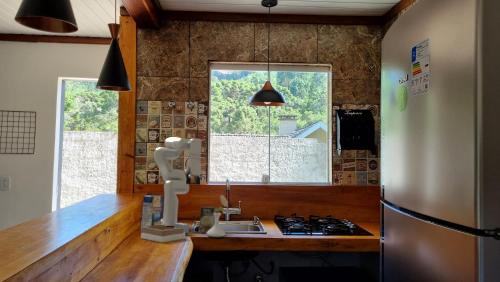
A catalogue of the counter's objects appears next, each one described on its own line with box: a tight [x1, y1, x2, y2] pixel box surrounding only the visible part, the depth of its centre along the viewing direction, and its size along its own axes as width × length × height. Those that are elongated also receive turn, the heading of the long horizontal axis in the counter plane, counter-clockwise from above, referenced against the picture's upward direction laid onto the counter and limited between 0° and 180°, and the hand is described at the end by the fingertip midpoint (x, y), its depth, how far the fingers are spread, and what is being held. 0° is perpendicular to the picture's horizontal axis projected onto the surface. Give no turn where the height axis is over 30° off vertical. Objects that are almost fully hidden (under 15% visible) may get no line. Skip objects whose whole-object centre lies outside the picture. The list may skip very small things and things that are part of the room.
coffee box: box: [198, 206, 217, 234], centre depth 222 cm, size 9×6×16 cm
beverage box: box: [140, 194, 164, 235], centre depth 210 cm, size 7×11×22 cm, turn 164°
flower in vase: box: [205, 194, 229, 238], centre depth 210 cm, size 13×11×25 cm
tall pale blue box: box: [172, 222, 190, 235], centre depth 212 cm, size 8×5×6 cm, turn 57°
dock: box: [140, 225, 186, 243], centre depth 194 cm, size 16×18×6 cm
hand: (193, 184), depth 221 cm, fingers open, 9 cm apart
